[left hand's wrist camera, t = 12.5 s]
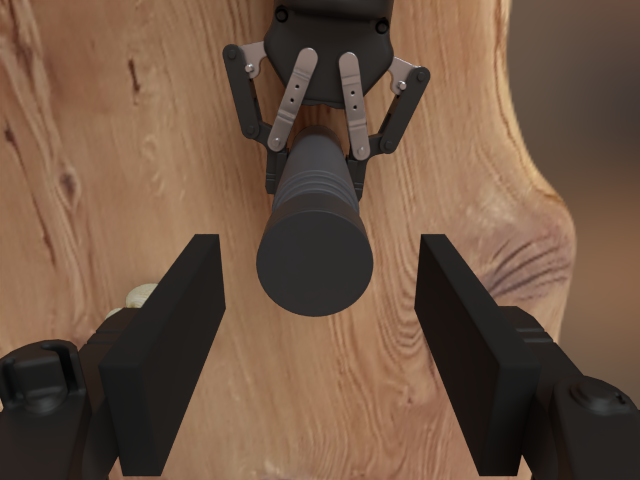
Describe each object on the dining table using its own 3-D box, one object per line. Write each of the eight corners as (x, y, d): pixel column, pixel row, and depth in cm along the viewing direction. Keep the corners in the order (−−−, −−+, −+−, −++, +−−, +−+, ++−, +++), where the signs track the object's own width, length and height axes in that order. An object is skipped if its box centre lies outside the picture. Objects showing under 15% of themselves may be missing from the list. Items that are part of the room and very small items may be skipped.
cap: (317, 170, 17) (316, 185, 14) (387, 244, 18) (397, 268, 15) (242, 240, 18) (231, 264, 15) (313, 306, 19) (312, 336, 16)
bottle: (317, 114, 37) (317, 180, 15) (351, 151, 38) (397, 263, 16) (281, 149, 38) (231, 259, 16) (315, 184, 39) (313, 332, 17)
